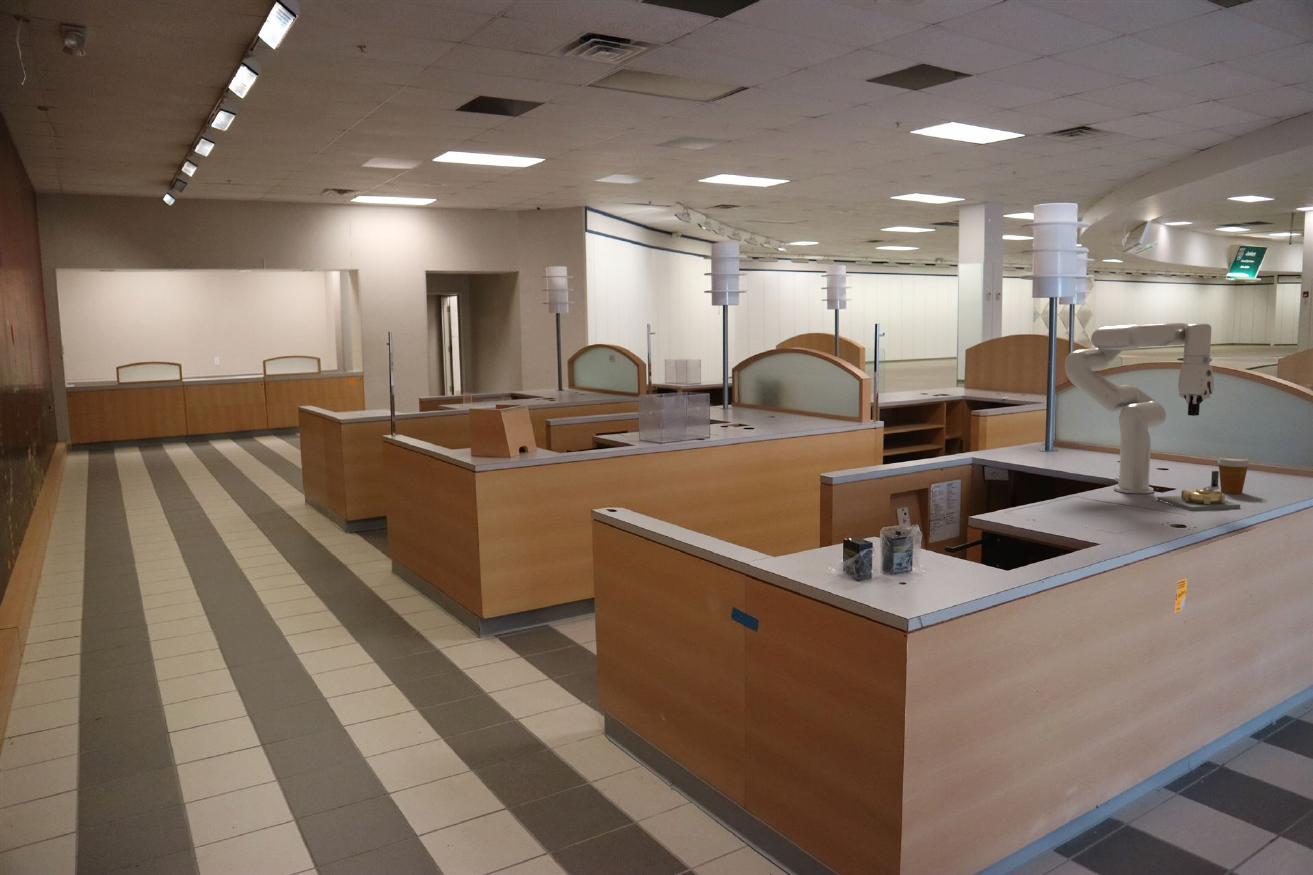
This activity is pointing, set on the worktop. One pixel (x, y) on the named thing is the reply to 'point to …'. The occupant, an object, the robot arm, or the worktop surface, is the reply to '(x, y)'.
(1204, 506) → the base plate
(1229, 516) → the worktop surface
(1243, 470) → the disposable coffee cup
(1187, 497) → the gold domed lever dial
